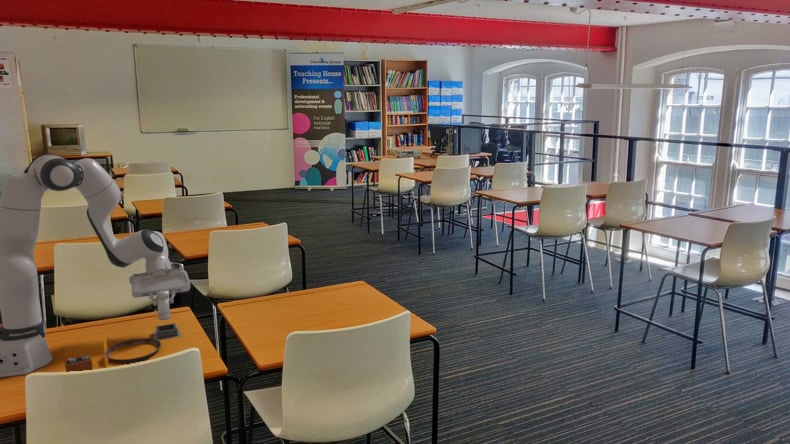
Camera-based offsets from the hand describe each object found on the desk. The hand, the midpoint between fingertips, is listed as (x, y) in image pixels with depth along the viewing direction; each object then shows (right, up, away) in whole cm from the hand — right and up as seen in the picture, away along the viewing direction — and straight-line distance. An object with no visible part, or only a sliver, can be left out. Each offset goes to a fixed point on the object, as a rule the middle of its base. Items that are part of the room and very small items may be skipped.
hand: (163, 303), depth 217 cm
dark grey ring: (-5, -17, -12) cm, 21 cm away
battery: (-11, -21, -35) cm, 43 cm away
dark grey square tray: (0, -13, +3) cm, 13 cm away
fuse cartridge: (0, -5, +2) cm, 6 cm away
